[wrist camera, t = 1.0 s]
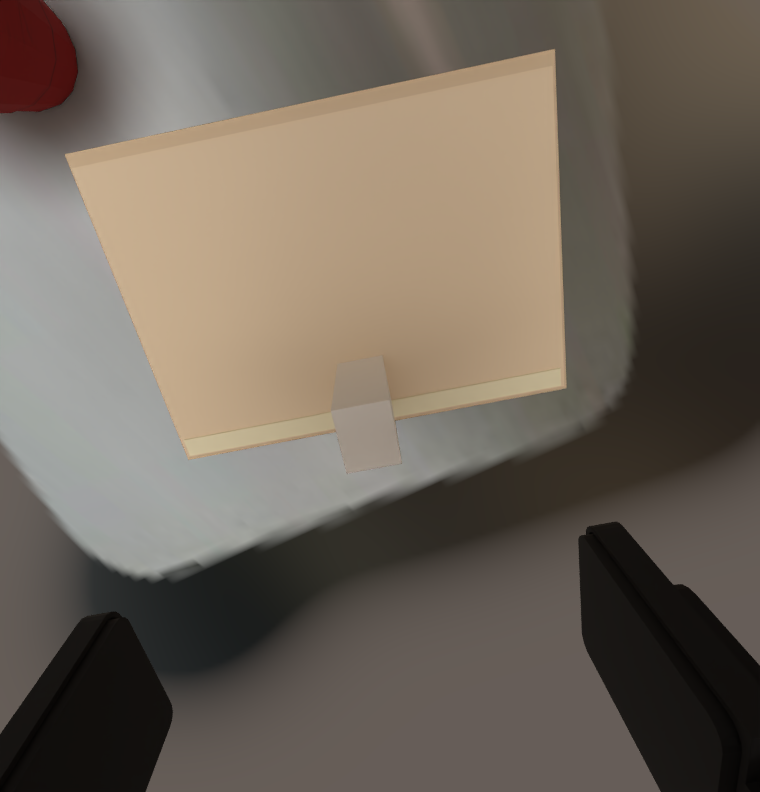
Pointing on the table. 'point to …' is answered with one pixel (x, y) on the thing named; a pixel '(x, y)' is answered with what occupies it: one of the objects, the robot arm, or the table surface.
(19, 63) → the plastic cup
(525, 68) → the carton
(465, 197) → the flap
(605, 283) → the table surface
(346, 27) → the table surface
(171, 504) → the table surface
